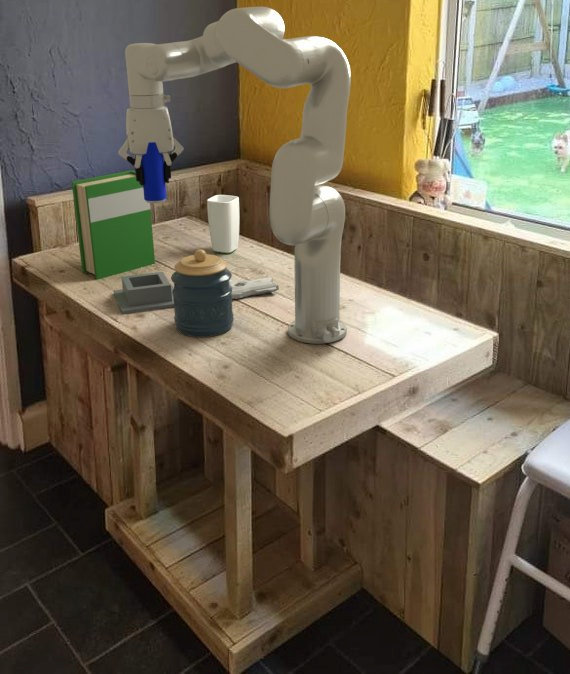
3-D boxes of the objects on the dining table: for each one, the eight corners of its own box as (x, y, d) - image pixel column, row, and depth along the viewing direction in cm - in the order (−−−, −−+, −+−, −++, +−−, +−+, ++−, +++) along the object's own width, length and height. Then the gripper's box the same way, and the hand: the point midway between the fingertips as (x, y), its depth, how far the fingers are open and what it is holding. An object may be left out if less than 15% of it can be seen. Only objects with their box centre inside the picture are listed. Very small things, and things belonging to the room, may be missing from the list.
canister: (168, 320, 187) (162, 244, 179) (224, 311, 191) (220, 237, 184) (183, 342, 175) (177, 262, 168) (241, 332, 180) (238, 254, 172)
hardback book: (97, 279, 212) (86, 186, 202) (82, 272, 217) (71, 181, 207) (155, 263, 222) (147, 174, 213) (139, 257, 227) (131, 170, 218)
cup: (242, 248, 233) (241, 196, 227) (230, 256, 227) (228, 203, 221) (220, 245, 236) (217, 194, 230) (207, 253, 230) (204, 200, 224)
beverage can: (171, 200, 194) (166, 135, 188) (156, 204, 191) (150, 138, 185) (154, 197, 197) (149, 133, 191) (139, 202, 193) (133, 136, 187)
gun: (268, 268, 207) (279, 282, 198) (269, 281, 209) (280, 295, 200) (196, 280, 203) (205, 295, 194) (198, 293, 204) (206, 308, 196)
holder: (182, 306, 194) (181, 286, 192) (122, 314, 190) (120, 294, 188) (170, 286, 206) (169, 268, 204) (113, 293, 202) (111, 274, 200)
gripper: (181, 97, 190) (187, 176, 198) (106, 102, 186) (114, 182, 193) (188, 101, 184) (193, 183, 191) (109, 107, 179) (118, 190, 187)
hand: (154, 182), depth 192 cm, fingers closed on beverage can, 5 cm apart
